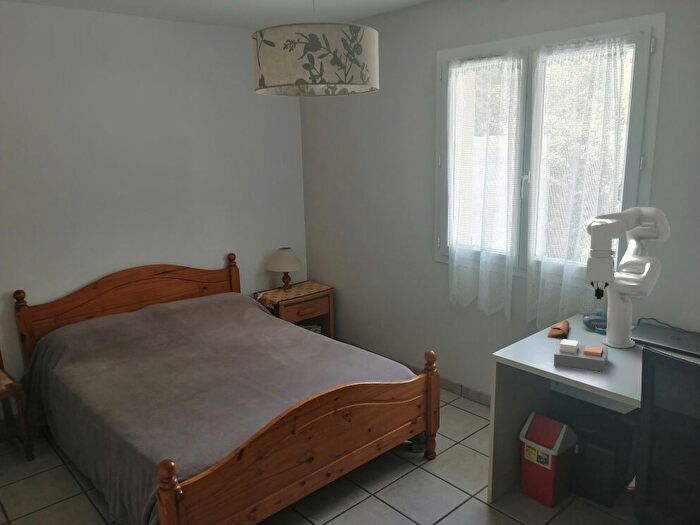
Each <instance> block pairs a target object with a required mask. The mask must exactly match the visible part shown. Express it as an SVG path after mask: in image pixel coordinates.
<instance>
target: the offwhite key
mask: <svg viewBox="0 0 700 525" xmlns="http://www.w3.org/2000/svg"><path fill="white" fill-rule="evenodd" d="M559 344H560V351H562V352H569V353H577V351H578V344H580V343H579V340H573V339H567V338H566V339H561V341H560V343H559Z"/></svg>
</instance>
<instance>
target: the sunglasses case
mask: <svg viewBox="0 0 700 525" xmlns="http://www.w3.org/2000/svg"><path fill="white" fill-rule="evenodd" d="M569 329H570V322H569V320H567V319H566V320H562V321H560V322H558V323H556V324H552V325H551V326H550V330H549V331H548V334H547V336H546V337H547V338H551V339H559V340H560V339H561V340H563V339H566V340H567V337H568V333H569Z"/></svg>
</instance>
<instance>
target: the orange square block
mask: <svg viewBox="0 0 700 525" xmlns="http://www.w3.org/2000/svg"><path fill="white" fill-rule="evenodd" d="M603 348H604V347H603ZM603 348H601V347H600V346H595V347H593V345H587V346H586V348H585V350H584V355H592V356H600V357H602V354H603Z"/></svg>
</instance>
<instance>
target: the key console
mask: <svg viewBox="0 0 700 525" xmlns="http://www.w3.org/2000/svg"><path fill="white" fill-rule="evenodd" d="M586 346H588V345H584V344H580V343H578V351H577V353H569V352H562V351H560V343H559V345H558V346H557V348H556V350H555V352H554V354H553V366H554V367H561V368H562V367H563V368H568V369H573V370H574V369H575V370H580V371H587V372H588V371H589V372H594V373H595V372H596V373H601V374H604V372H605V368H606V366H607V362H608V360H609V359H608V356H609V347H601V348H603V354H602V357H600V356H592V355H584V350H585V348H586ZM592 346H593V345H592ZM593 347H596V346H593Z"/></svg>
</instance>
